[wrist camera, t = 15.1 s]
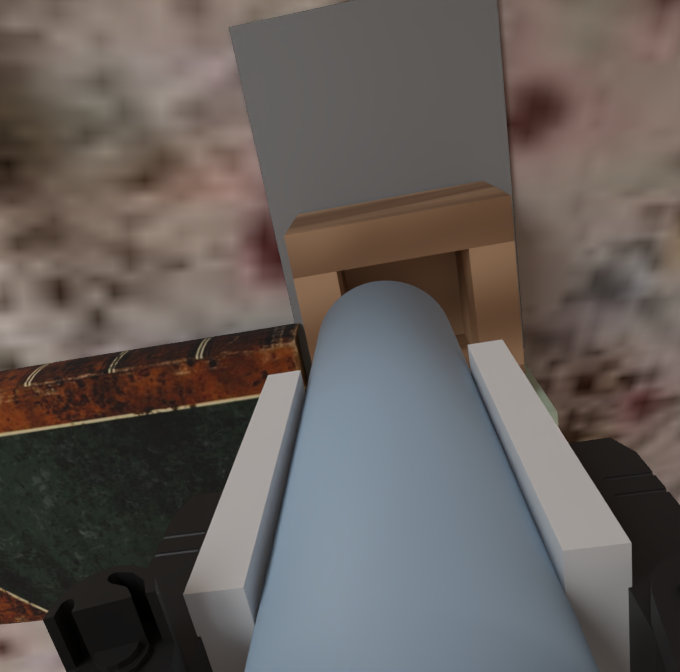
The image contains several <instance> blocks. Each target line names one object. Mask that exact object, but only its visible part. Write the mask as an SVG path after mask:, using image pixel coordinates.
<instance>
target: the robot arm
mask: <svg viewBox="0 0 680 672" xmlns="http://www.w3.org/2000/svg"><path fill="white" fill-rule="evenodd" d="M468 353H469V362H470V371H471V375H472V377H473V379H474V382H475V384H476V386H477V389H478V391H479V393H480V396H481V398H482V400H483V403H484V405H485V407H486V410H487V412H488V414H489V417H490V419H491V421H492V424H493V426H494V428H495V431H496V433H497V435H498V438H499V440H500V443H501V445H502V447H503V450H504V452H505V454H506V457H507V459H508V461H509V464H510V466H511V468H512V471H513V473H514V475H515V478H516V480H517V482H518V485H519V487H520V489H521V492H522V494H523V496H524V499H525V501H526V503H527V506H528V508H529V510H530V513H531V515H532V517H533V520H534V522H535V524H536V527H537V529H538V531H539V534H540V536H541V538H542V541H543V543H544V545H545V548H546V550H547V552H548V555H549V557H550V559H551V562H552V564H553V566H554V569H555V571H556V574H557V576H558V578H559V581H560V583H561V585H562V588H563V590H564V592H565V595H566V596H567V598H568V600H569V602H570V604H571V606H572V608H573V610H574V613H575V615H576V617H577V620H578V622H579V624H580V627H581V629H582V631H583V633H584V636H585V638H586V640H587V643H588V645H589V647H590V650H591V652H592V654H593V657H594V659H595V661H596V664H597V666H598V668H599V671H600V672H680V505H679V503H678V502H677V501H676V500H675V499H674V497H673V496H672V495H671V494H670V493H669V492H666V488H665V486H664V485H663V484H662V483H661V482H660V480H659V479H658V478H657V477H656V476H655V475H654V476H653V474H652V471H651V470H650V468H649V467H648V466H647V465H646V463H645V462H644V461H643V460H642V459H641V457H640V456H639V455H638V454H637V453H636V452H635V451H633V450H631V449H630V448H628V447H626V446H624V445H622V444H621V443H619V442H617V441H615V440H614V439H612V438H604V439H597V440H589V441H582V442H574V443H568V442H567V440H566V439H565V437H564V436H563V434H562V433H561V431H560V429H559V428H558V426H557V425H556V423H555V422H554V420H553V418H552V417H551V415H550V414H549V412H548V411H547V409H546V407H545V406H544V404H543V403H542V401H541V399H540V398H539V396H538V395H537V393H536V392H535V390H534V388H533V387H532V385H531V384H530V382H529V381H528V379H527V377H526V376H525V374H524V373H523V371H522V370H521V368H520V366H519V365H518V363H517V362H516V360H515V359H514V357H513V355H512V354H511V352H510V351H509V349H508V348H507V346H506V344H505V343H504V341H503V340H495V341H488V342H482V343H475V344H469V345H468ZM305 394H306V393H305V389H304V384H303V380H302V375H301V371H300V370H298V371H292V372H285V373H279V374H272V375H268V376H267V379H266V381H265V384H264V387H263V389H262V392H261V394H260V397H259V400H258V402H257V405H256V407H255V410H254V412H253V415H252V418H251V420H250V423H249V425H248V428H247V431H246V433H245V436H244V438H243V441H242V443H241V446H240V449H239V451H238V454H237V456H236V459H235V462H234V464H233V467H232V469H231V472H230V474H229V477H228V480H227V482H226V485H225V487H224V490H223V491H222V492H214V493H207V494H199V495H193V496H192V497H191V498H190V499H189V500H188V501H187V502H186V503H185V504H184V505H183V506H182V507H181V508H180V509H179V510H178V511H177V512H176V513H175V514H174V515H173V518H172V520H171V522H170V524H169V526H168V528H167V530H166V532H165V534H164V540H161V542H160V544H159V546H158V548H157V550H156V552H155V558H152V560H151V562H150V565H149V567H148V569H146V568H144V567H139V566H135V565H123V566H115V567H110V568H108V569H105V570H102V571H99V572H97V573H94V574H91V575H90V576H88V577H86V578H85V579H83V580H81V581H80V582H78V583H76V584H75V585H73V586H71V587H70V588H69V589H68V590H67V591H66V592H65V593H64V594H63V595H61V596H60V597H59V598H58V599H57V600H56V601H55V602H54V603H53V605H52V606H51V608H50V609H49V611H48V612H47V614H46V615H45V617H44V618H43V621H44V623H45V626H46V628H47V630H48V632H49V634H50V637H51V639H52V641H53V643H54V645H55V647H56V650H57V652H58V654H59V656H60V658H61V661H62V663H63V665H64V667H65V669H66V672H245V667H246V662H247V658H248V653H249V649H250V644H251V640H252V635H253V631H254V626H255V622H256V617H257V612H258V608H259V603H260V599H261V594H262V590H263V585H264V581H265V576H266V571H267V567H268V562H269V558H270V553H271V549H272V544H273V540H274V535H275V531H276V526H277V521H278V517H279V512H280V508H281V503H282V499H283V494H284V490H285V485H286V480H287V476H288V471H289V467H290V462H291V458H292V453H293V449H294V444H295V440H296V435H297V430H298V426H299V421H300V417H301V412H302V408H303V403H304V399H305Z"/></svg>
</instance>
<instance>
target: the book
mask: <svg viewBox="0 0 680 672" xmlns="http://www.w3.org/2000/svg"><path fill="white" fill-rule="evenodd" d="M299 325H300V324H299V323H298V324H289V325H283V326H277V327H271V328H265V329H259V330H253V331H247V332H240V333H234V334H228V335H222V336H215V337H209V338H203V339H197V340H190V341H184V342H178V343H172V344H165V345H159V346H153V347H147V348H140V349H134V350H128V351H122V352H116V353H109V354H103V355H97V356H91V357H85V358H79V359H73V360H66V361H60V362H54V363H48V364H42V365H36V366H30V367H24V368H18V369H11V370H5V371H0V624H10V623H21V622H30V621H39V620H43V618H44V617H45V615H46V614H47V612H48V611H49V609H50V608H51V606H52V605H53V603H54V602H55V601H56V600H57V599H58V598H59V597H60V596H61V595H63V594H64V593H65V592H66V591H67V590H68V589H69V588H70V587H71V586H73V585H75V584H76V583H78V582H80V581H81V580H83V579H85V578H86V577H88V576H90V575H91V574H94V573H97V572H99V571H102V570H105V569H108V568H110V567H115V566H123V565H135V566H139V567H144V568H146V569H148V567H149V565H150V562H151V560H152V558H155V552H156V550H157V548H158V546H159V544H160V542H161V540H164V534H165V532H166V530H167V528H168V526H169V524H170V522H171V520H172V518H173V515H174V514H175V513H176V512H177V511H178V510H179V509H180V508H181V507H182V506H183V505H184V504H185V503H186V502H187V501H188V500H189V499H190V498H191V497H192V496H193V495H199V494H207V493H214V492H222V491H223V490H224V487H225V485H226V482H227V480H228V477H229V474H230V472H231V469H232V467H233V464H234V462H235V459H236V456H237V454H238V451H239V449H240V446H241V443H242V441H243V438H244V436H245V433H246V431H247V428H248V425H249V423H250V420H251V418H252V415H253V412H254V410H255V407H256V405H257V402H258V400H259V397H260V394H261V392H262V389H263V387H264V384H265V381H266V379H267V376H268V375H272V374H279V373H285V372H292V371H298V370H300V371H301V375H302V380H303V384H304V389H305V393H306V389H307V385H308V379H307V375H306V370H305V366H304V361H303V357H302V352H301V348H300V343H299V339H298V334H297V331H298V328H299Z"/></svg>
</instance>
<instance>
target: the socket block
mask: <svg viewBox="0 0 680 672" xmlns="http://www.w3.org/2000/svg"><path fill="white" fill-rule="evenodd" d="M284 238H285V243H286V247H287V252H288V257H289V261H290V266H291V270H292V275H293V279H294V284H295V289H296V293H297V298H298V302H299V307H300V311H301V316H302V321H303V325H304V330H305V334H306V339H307V343H308V348H309V353H310V357H311V362H313V358H314V353H315V349H316V344H317V339H318V335H319V331H320V327H321V324H322V322H323V319H324V317H325V315H326V314H327V312H328V310H329V309H330V308H331V306H332V305H333V304H334V303H335V302H336V301H337V300H338V299H339V298H340V297H341V296H342V295H344V294H345V293H347V292H348V291H350V290H352V289H353V288H355V287H357V286H360V285H363V284H366V283H370V282H374V281H397V282H403V283H406V284H410V285H412V286H415V287H417V288H419V289H421V290H422V291H424V292H426V293H427V294H428V295H430V296H431V297H432V298H433V299H434V300H435V301H436V302H437V303H438V304H439V305H440V306H441V308H442V309H443V311H444V312H445V314H446V316H447V318H448V320H449V322H450V325H451V327H452V329H453V332H454V334H455V336H456V339H457V341H458V343H459V346H460V348H461V350H462V353H463V355H464V357H465V359H466V362H467V364H468V366H469V369H470V362H469V353H468V345H469V344H475V343H482V342H488V341H495V340H503V341H504V343H505V344H506V346H507V348H508V349H509V351H510V352H511V354H512V355H513V357H514V359H515V360H516V362H517V363H518V365H519V366H520V368H521V370H522V371H523V373H524V374H525V366H524V353H523V341H522V328H521V315H520V303H519V290H518V278H517V265H516V253H515V240H514V227H513V215H512V202H511V195H509V194H508V193H506V192H504V191H502V190H500V189H498V188H496V187H494V186H493V185H491V184H489V183H487V182H485V181H478V182H473V183H467V184H462V185H456V186H451V187H445V188H440V189H434V190H429V191H423V192H418V193H412V194H407V195H401V196H396V197H390V198H385V199H380V200H374V201H369V202H363V203H358V204H352V205H347V206H341V207H336V208H330V209H325V210H319V211H314V212H308V213H303V214H298V215H297V216H296V218H295V219H294V221H293V223H292V224H291V226H290V227H289V229H288V230H287V232H286V234H285V235H284Z"/></svg>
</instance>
